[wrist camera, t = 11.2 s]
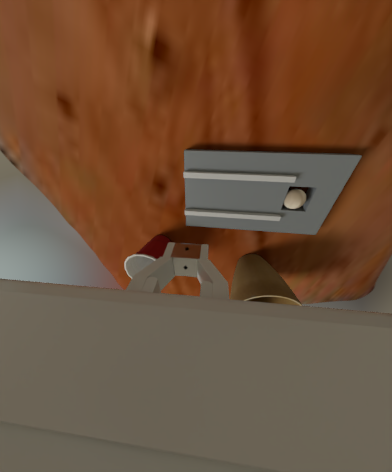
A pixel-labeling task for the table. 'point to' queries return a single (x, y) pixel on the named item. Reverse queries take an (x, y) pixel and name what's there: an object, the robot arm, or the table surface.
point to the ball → (295, 198)
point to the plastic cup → (146, 255)
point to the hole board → (262, 188)
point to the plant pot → (260, 283)
